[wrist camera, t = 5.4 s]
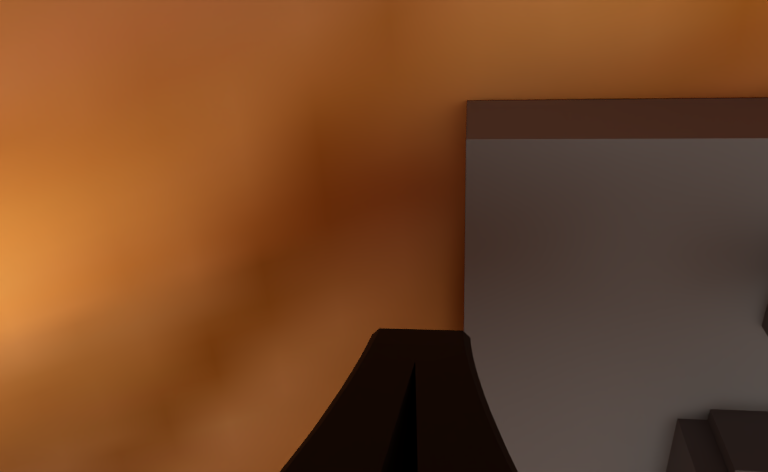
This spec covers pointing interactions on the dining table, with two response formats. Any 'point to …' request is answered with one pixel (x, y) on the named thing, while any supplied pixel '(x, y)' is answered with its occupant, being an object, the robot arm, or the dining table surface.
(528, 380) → the control panel
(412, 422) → the robot arm
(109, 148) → the dining table surface
